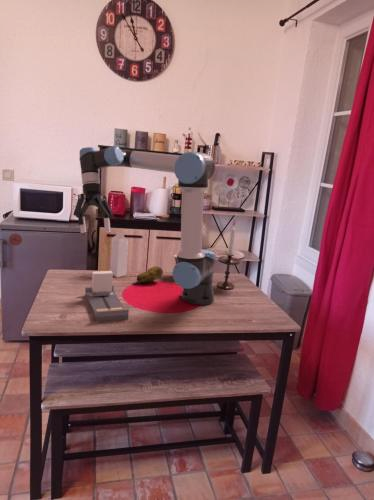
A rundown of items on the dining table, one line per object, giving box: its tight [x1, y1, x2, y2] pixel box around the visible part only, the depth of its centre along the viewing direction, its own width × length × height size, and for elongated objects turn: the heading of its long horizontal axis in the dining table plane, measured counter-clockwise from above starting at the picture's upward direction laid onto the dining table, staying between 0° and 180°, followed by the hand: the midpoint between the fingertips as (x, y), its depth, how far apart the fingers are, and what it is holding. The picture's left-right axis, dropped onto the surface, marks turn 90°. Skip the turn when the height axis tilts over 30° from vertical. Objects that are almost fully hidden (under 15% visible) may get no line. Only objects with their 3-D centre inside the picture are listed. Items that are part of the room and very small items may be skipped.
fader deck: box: [84, 284, 130, 323], centre depth 151 cm, size 26×12×4 cm, turn 24°
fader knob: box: [91, 270, 114, 296], centre depth 156 cm, size 5×8×10 cm, turn 114°
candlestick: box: [216, 219, 241, 291], centre depth 185 cm, size 11×11×35 cm
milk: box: [109, 231, 129, 278], centre depth 187 cm, size 6×6×22 cm
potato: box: [136, 265, 164, 284], centre depth 183 cm, size 8×13×8 cm, turn 100°
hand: (96, 232), depth 160 cm, fingers open, 13 cm apart
